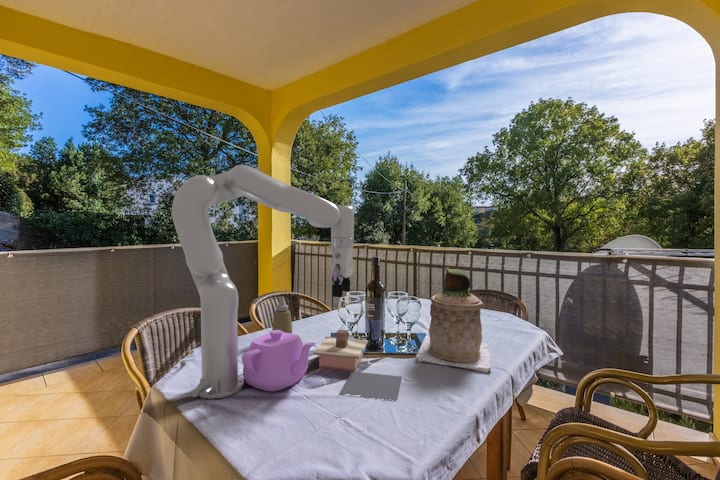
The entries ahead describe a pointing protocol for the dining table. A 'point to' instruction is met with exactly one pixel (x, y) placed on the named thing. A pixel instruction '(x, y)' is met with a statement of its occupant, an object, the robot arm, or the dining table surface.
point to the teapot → (275, 361)
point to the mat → (372, 385)
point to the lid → (341, 346)
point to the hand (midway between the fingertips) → (341, 293)
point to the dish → (339, 362)
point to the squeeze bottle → (282, 317)
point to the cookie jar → (455, 327)
